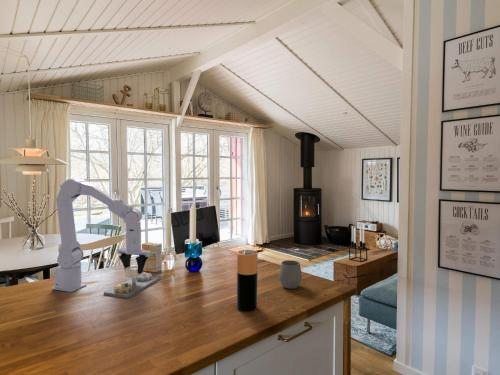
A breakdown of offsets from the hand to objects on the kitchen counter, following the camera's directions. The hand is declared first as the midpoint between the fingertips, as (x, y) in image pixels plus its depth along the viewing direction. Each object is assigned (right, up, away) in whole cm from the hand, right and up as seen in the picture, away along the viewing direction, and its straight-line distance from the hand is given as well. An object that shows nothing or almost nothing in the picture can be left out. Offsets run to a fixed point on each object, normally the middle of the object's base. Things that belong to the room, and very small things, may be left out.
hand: (134, 272), depth 132 cm
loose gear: (0, -1, 0) cm, 1 cm away
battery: (+46, -8, -19) cm, 51 cm away
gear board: (0, -6, 0) cm, 6 cm away
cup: (+64, -7, +2) cm, 64 cm away
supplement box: (+1, -5, +21) cm, 22 cm away
